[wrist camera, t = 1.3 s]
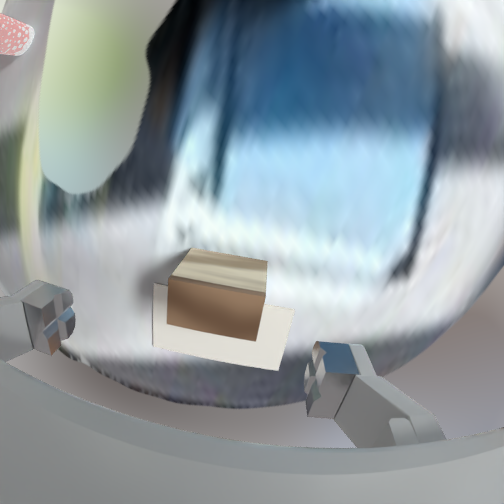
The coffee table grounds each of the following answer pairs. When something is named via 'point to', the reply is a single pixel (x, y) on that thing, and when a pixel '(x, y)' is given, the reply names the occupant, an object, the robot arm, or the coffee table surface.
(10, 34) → the beverage cup
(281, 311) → the pad
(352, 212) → the coffee table surface
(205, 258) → the block
